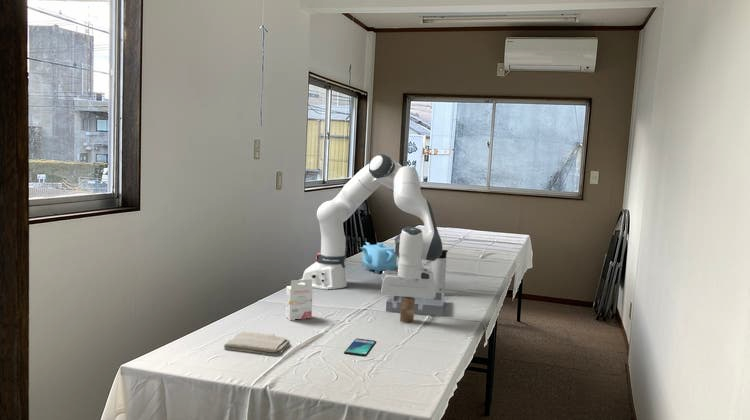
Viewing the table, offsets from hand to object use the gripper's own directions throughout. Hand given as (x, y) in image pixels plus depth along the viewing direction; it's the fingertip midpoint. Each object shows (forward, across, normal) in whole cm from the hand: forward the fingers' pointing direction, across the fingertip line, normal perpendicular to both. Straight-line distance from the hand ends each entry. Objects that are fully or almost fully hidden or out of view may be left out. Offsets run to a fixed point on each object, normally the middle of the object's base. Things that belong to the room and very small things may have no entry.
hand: (407, 308), depth 219 cm
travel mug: (+5, +10, +45) cm, 46 cm away
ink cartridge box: (+5, -39, -9) cm, 40 cm away
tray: (+5, +2, +21) cm, 22 cm away
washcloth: (+5, -43, -42) cm, 61 cm away
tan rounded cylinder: (+5, 0, 0) cm, 5 cm away
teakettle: (+5, -22, +85) cm, 88 cm away
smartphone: (+5, -12, -34) cm, 36 cm away
